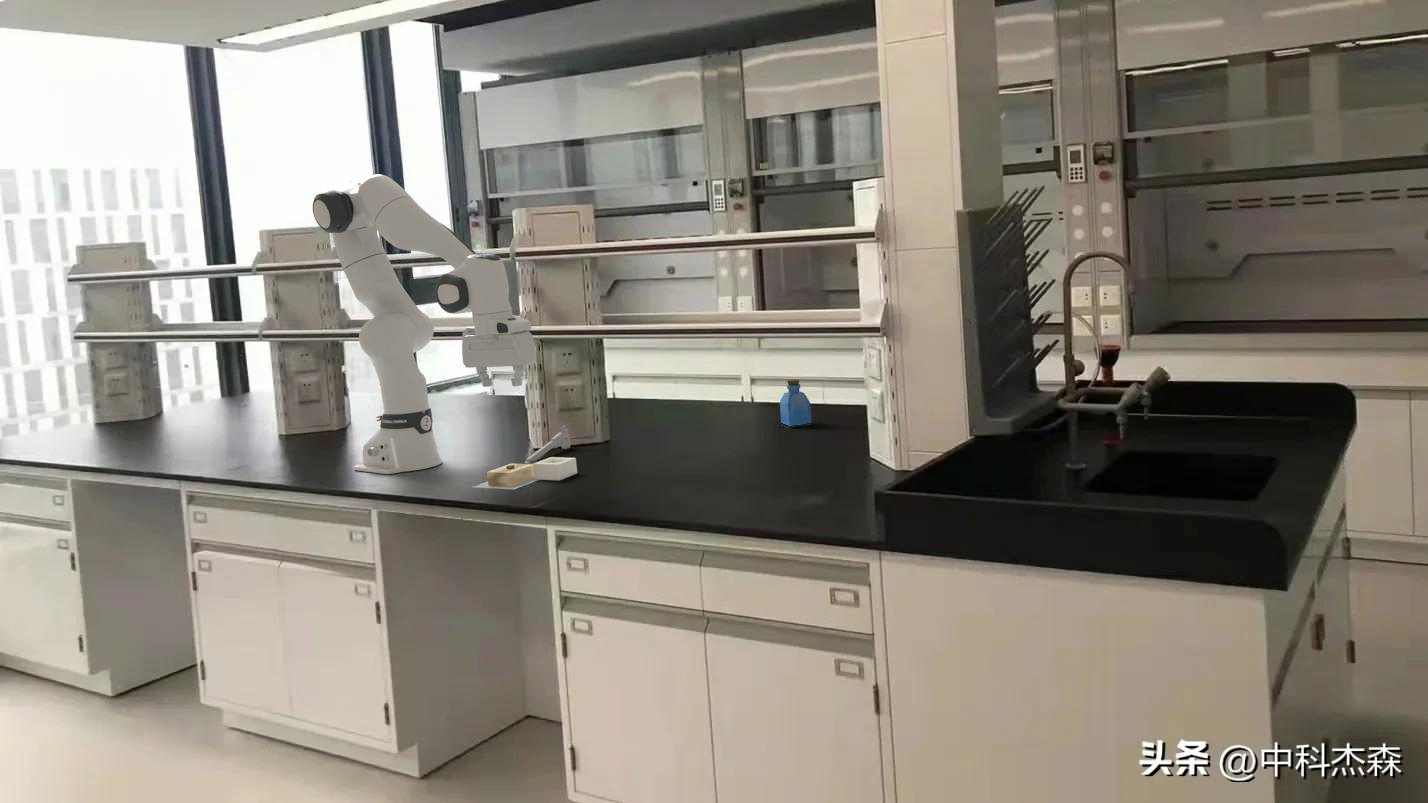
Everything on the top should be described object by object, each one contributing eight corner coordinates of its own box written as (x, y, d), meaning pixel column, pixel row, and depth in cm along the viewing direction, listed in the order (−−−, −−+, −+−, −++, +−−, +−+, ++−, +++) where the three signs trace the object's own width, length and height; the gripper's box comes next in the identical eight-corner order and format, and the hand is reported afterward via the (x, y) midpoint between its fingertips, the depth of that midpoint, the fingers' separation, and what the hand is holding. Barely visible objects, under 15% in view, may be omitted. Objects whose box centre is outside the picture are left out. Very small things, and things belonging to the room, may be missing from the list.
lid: (488, 485, 270) (486, 469, 269) (512, 476, 278) (510, 460, 277) (511, 486, 267) (509, 470, 266) (535, 477, 275) (533, 461, 274)
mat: (471, 489, 269) (471, 487, 269) (509, 475, 281) (509, 473, 281) (514, 491, 264) (514, 489, 263) (551, 476, 276) (551, 474, 276)
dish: (534, 480, 272) (532, 463, 272) (552, 473, 279) (550, 457, 278) (559, 481, 269) (558, 464, 269) (577, 474, 275) (575, 457, 275)
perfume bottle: (781, 425, 319) (778, 380, 317) (802, 422, 321) (799, 377, 319) (789, 428, 313) (786, 383, 311) (811, 425, 315) (808, 380, 313)
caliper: (567, 448, 311) (564, 424, 310) (570, 448, 310) (568, 424, 309) (523, 465, 293) (521, 440, 292) (527, 465, 292) (524, 440, 291)
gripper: (451, 329, 272) (460, 389, 274) (516, 325, 260) (524, 388, 262) (472, 325, 277) (480, 384, 279) (536, 321, 265) (544, 383, 267)
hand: (502, 386), depth 271 cm, fingers open, 8 cm apart
